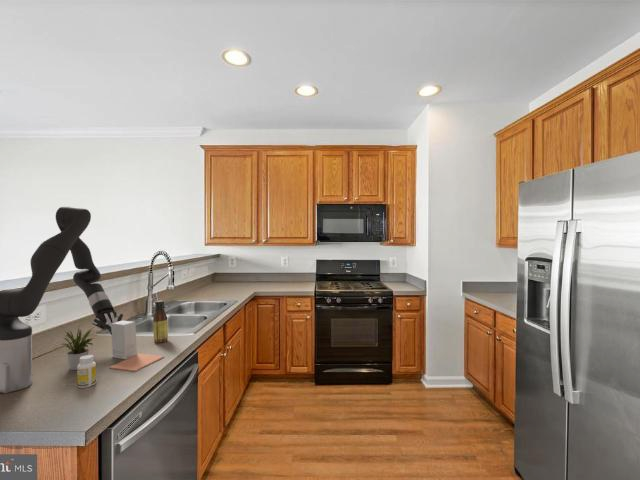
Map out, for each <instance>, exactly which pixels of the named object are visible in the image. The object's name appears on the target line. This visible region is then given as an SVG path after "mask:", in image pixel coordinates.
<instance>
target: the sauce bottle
mask: <svg viewBox="0 0 640 480" xmlns="http://www.w3.org/2000/svg"><path fill="white" fill-rule="evenodd" d="M154 304H155V312H154V313H153V316H152V317H153V322H152V323H153V325H152V326H153V339H154V343H158V344H160V343H165V342H168V338H169V332H168V316H167V313H166V310H165V301H164V300H163V299H159V300H155V302H154Z"/></svg>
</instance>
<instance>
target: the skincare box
mask: <svg viewBox="0 0 640 480" xmlns="http://www.w3.org/2000/svg"><path fill="white" fill-rule="evenodd" d="M136 329H137V328H136V321H134V320H133V321H132V320H123V319H122V320H121V321H119V322H117V321H115V323H112V324H111V331H112V335H111V349H112V354H111V355H112V358H116V359H120V360H127V359H129V358H132V357H134V356H136V355H138V349H137V330H136Z"/></svg>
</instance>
